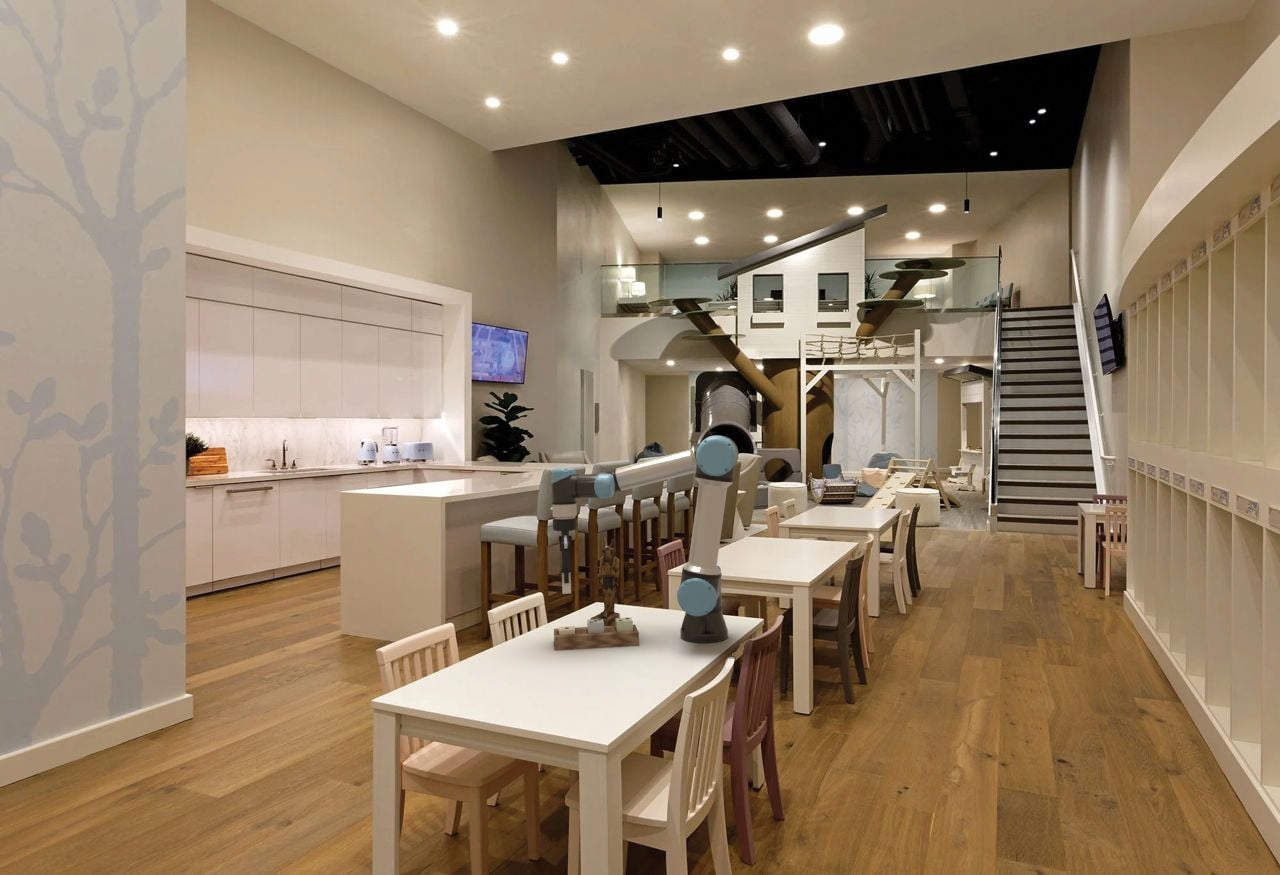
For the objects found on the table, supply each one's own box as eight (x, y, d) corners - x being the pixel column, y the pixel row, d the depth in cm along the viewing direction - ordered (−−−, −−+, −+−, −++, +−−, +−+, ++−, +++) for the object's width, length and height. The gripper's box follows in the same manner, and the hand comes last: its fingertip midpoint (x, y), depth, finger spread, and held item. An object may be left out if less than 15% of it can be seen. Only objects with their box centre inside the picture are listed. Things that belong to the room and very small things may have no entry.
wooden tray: (635, 636, 259) (634, 624, 259) (639, 645, 248) (638, 632, 248) (554, 641, 256) (553, 628, 256) (554, 650, 245) (554, 637, 245)
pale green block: (631, 630, 256) (631, 616, 256) (633, 633, 251) (632, 620, 251) (615, 630, 255) (615, 617, 255) (617, 634, 250) (616, 621, 250)
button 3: (603, 631, 255) (602, 618, 255) (604, 635, 250) (603, 621, 250) (587, 632, 254) (587, 619, 254) (588, 636, 249) (587, 622, 249)
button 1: (574, 638, 254) (574, 625, 254) (575, 642, 249) (575, 629, 249) (558, 639, 253) (558, 626, 253) (559, 643, 248) (558, 630, 248)
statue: (589, 631, 268) (587, 541, 268) (603, 623, 278) (601, 537, 278) (611, 632, 265) (609, 542, 265) (624, 625, 275) (621, 537, 275)
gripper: (552, 516, 257) (554, 589, 257) (552, 520, 244) (554, 597, 244) (575, 515, 258) (577, 588, 258) (577, 519, 245) (579, 596, 245)
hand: (566, 593), depth 251 cm, fingers closed
